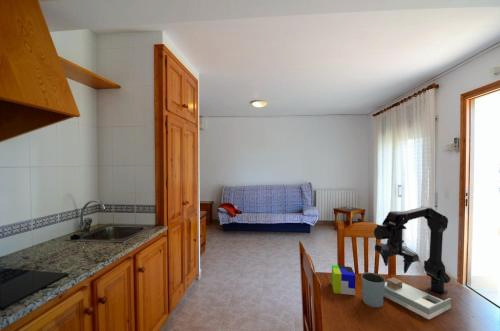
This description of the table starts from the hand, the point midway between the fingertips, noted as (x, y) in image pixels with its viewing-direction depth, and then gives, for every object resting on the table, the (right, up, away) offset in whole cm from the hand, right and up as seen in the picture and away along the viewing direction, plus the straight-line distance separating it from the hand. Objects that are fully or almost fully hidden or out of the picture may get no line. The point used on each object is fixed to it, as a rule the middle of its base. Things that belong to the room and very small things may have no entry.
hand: (395, 269), depth 120 cm
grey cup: (-14, -14, -5) cm, 20 cm away
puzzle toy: (-23, -13, +7) cm, 28 cm away
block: (+3, -11, +6) cm, 13 cm away
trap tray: (+6, -14, -2) cm, 15 cm away
